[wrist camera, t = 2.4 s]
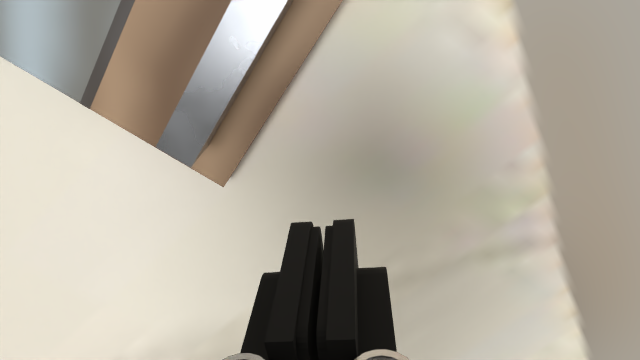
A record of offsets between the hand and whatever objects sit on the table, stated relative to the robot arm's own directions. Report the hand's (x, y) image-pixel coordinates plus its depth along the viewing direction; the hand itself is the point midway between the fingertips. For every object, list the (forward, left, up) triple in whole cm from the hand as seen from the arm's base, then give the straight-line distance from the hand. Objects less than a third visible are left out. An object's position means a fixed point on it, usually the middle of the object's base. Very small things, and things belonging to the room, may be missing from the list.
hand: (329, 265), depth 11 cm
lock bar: (+6, -1, -13) cm, 15 cm away
